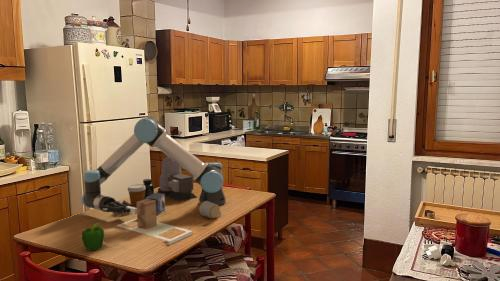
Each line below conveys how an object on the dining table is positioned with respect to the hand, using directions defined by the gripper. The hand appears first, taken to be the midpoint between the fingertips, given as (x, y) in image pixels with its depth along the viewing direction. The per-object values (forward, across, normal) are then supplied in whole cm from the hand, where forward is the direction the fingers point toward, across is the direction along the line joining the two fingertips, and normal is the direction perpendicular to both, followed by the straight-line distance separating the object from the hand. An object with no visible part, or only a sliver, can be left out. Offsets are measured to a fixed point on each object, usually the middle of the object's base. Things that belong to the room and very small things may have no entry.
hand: (136, 211), depth 178 cm
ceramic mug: (+20, -31, -8) cm, 38 cm away
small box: (-5, -16, -8) cm, 19 cm away
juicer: (-25, -51, -8) cm, 57 cm away
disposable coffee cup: (-24, -20, -8) cm, 32 cm away
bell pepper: (+5, +26, -8) cm, 28 cm away
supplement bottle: (-31, -34, -8) cm, 47 cm away
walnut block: (+7, 0, -6) cm, 9 cm away
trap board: (+11, 0, -8) cm, 13 cm away
